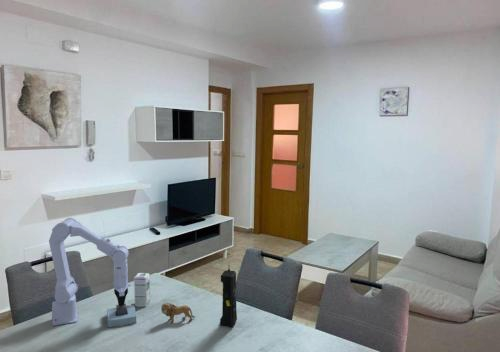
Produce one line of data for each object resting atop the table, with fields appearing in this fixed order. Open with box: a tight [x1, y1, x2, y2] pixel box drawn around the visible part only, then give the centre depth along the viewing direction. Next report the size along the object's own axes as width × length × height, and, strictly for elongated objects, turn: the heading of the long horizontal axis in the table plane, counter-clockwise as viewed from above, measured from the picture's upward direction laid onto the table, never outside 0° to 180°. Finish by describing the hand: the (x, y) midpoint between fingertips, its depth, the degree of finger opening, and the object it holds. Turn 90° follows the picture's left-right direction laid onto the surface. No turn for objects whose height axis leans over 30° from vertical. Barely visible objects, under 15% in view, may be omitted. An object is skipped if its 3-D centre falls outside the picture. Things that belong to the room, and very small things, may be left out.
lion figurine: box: [160, 302, 196, 325], centre depth 167 cm, size 15×5×9 cm, turn 112°
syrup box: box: [133, 272, 151, 308], centre depth 182 cm, size 6×6×14 cm
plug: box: [115, 303, 127, 316], centre depth 168 cm, size 4×4×6 cm
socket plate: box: [106, 304, 137, 328], centre depth 168 cm, size 12×12×3 cm
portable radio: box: [219, 264, 238, 328], centre depth 165 cm, size 8×6×25 cm
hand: (121, 305), depth 167 cm, fingers closed
